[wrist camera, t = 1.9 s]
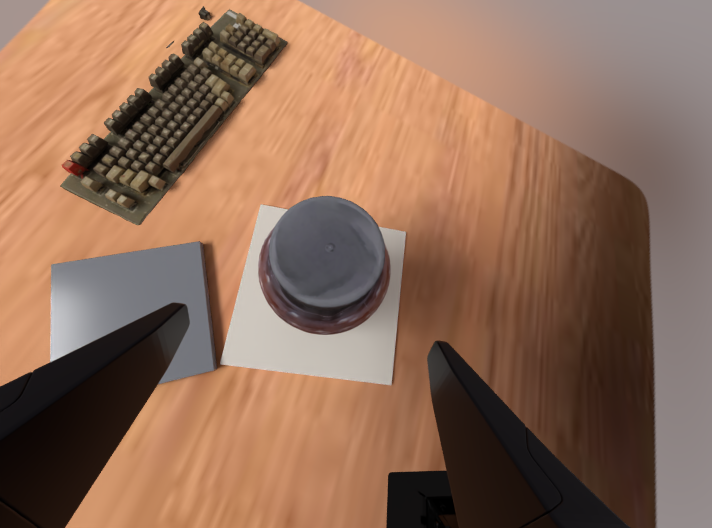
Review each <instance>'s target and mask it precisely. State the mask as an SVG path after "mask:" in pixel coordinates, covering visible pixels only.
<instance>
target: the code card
mask: <svg viewBox="0 0 712 528" xmlns="http://www.w3.org/2000/svg"><path fill="white" fill-rule="evenodd" d="M286 211H288V209H283V208H278V207H272V206H267V205H262V204H261V205H260V209H259V213H258V217H257V221H256V225H255V229H254V233H253V237H252V241H251V244H250V248H249V252H248V256H247V260H246V264H245V268H244V272H243V276H242V280H241V284H240V287H239V291H238V295H237V299H236V303H235V307H234V311H233V315H232V319H231V323H230V327H229V330H228V334H227V338H226V342H225V346H224V350H223V354H222V358H221V362H220V364H222V365H230V366H238V367H246V368H254V369H263V370H271V371H279V372H287V373H295V374H304V375H312V376H320V377H328V378H336V379H345V380H353V381H361V382H369V383H377V384H385V385H391V384H392V374H393V363H394V353H395V342H396V332H397V321H398V311H399V300H400V290H401V279H402V269H403V258H404V248H405V237H406V232H404V231H399V230H393V229H388V228H383V227H379V229H380V231H381V233H382V236H383V239H384V243H385V245H386V248H387V251H388V254H389V258H390V266H391V274H390V282H389V287H388V290H387V293H386V295H385V297H384V299H383V301H382V303H381V304H380V306H379V307H378V309H377V310H376V311H375V312H374V313H373V315H372V316H371V317H370V318H369V319H367V320H366V321H365V322H364V323H362V324H361V325H359V326H357V327H355V328H353V329H351V330H349V331H346V332H342V333H338V334H332V335H318V334H311V333H307V332H304V331H302V330H299V329H297V328H295V327H293V326H291V325H289V324H288V323H286V322H285V321H283V320H282V319H281V318H280V317H279V316H278V315H277V314H276V313H275V312H274V311H273V309H272V308H271V307H270V306H269V304H268V303H267V301H266V299H265V297H264V294H263V292H262V289H261V286H260V283H259V276H258V261H259V254H260V252H261V248H262V245H263V244H264V241H265V239H266V238H267V236H268V234H269V233H270V232H271V230H272V229H273V228H274V227H275V225H276V224H277V222H278V221H279V219H280V218H281V217H282V216H283V214H284V213H285V212H286Z"/></svg>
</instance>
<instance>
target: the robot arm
mask: <svg viewBox="0 0 712 528" xmlns="http://www.w3.org/2000/svg"><path fill="white" fill-rule="evenodd" d="M189 325H190V318H189V313H188V307H187V305H186V304H183V303H176V302H173V303H170V304H168V305H166V306H164V307H162V308H160V309H158V310H156V311H154V312H152V313H149V314H147V315H145V316H143V317H141V318H139V319H137V320H135V321H133V322H131V323H129V324H127V325H125V326H123V327H121V328H119V329H117V330H115V331H113V332H111V333H109V334H107V335H105V336H103V337H101V338H99V339H97V340H95V341H92V342H90V343H88V344H86V345H84V346H82V347H80V348H78V349H76V350H74V351H72V352H70V353H68V354H66V355H64V356H62V357H60V358H58V359H56V360H54V361H52V362H50V363H48V364H46V365H44V366H42V367H40V368H38V369H35V370H34V371H33V373H32V372H29V373H27V374H25V375H23V376H21V377H19V378H17V379H15V380H13V381H11V382H9V383H7V384H5V385H3V386H0V528H65V527H66V525H67V524H68V522H69V521H70V519H71V518H72V516H73V514H74V513H75V511H76V510H77V508H78V507H79V505H80V504H81V502H82V501H83V499H84V497H85V496H86V494H87V493H88V491H89V490H90V488H91V487H92V485H93V484H94V482H95V481H96V479H97V477H98V476H99V474H100V473H101V471H102V470H103V468H104V467H105V465H106V464H107V462H108V460H109V459H110V457H111V456H112V454H113V453H114V451H115V450H116V448H117V447H118V445H119V443H120V442H121V440H122V439H123V437H124V436H125V434H126V433H127V431H128V430H129V428H130V426H131V425H132V423H133V422H134V420H135V419H136V417H137V416H138V414H139V413H140V411H141V409H142V408H143V406H144V405H145V403H146V402H147V400H148V399H149V397H150V396H151V394H152V392H153V391H154V389H155V388H156V386H157V385H158V383H159V382H160V380H161V379H162V377H163V375H164V374H165V372H166V371H167V369H168V367H169V365H170V363H171V362H172V360H173V358H174V356H175V354H176V352H177V350H178V348H179V346H180V344H181V342H182V340H183V338H184V336H185V334H186V332H187V330H188V328H189ZM427 361H428V370H429V380H430V389H431V397H432V403H433V409H434V413H435V418H436V423H437V427H438V432H439V437H440V441H441V446H442V451H443V455H444V460H445V465H446V469H447V474H448V479H449V483H450V488H451V493H452V497H453V502H454V507H455V511H456V516H457V521H458V525H459V528H630V527H629V526H628V525H626V524H625V523H624V522H623V521H622V520H621V519H620V518H619V517H618V516H617V515H616V514H615V513H613V512H612V511H611V510H610V509H609V508H608V507H607V506H606V505H605V504H604V503H603V502H602V501H601V500H600V499H599V498H598V497H597V496H596V495H595V494H594V493H593V492H591V491H590V490H589V489H588V488H587V487H586V486H585V485H584V484H583V483H582V482H581V481H580V480H579V479H578V478H577V477H576V476H575V475H574V474H573V473H572V472H571V471H570V470H569V469H567V468H566V467H565V466H564V465H563V464H562V463H561V462H560V461H559V460H558V459H557V458H556V457H555V456H554V455H553V454H552V453H551V452H550V451H549V450H548V449H547V448H546V447H545V445H544V444H543V443H542V442H541V441H540V440H539V439H538V438H537V437H536V436H535V435H534V434H533V433H532V432H531V431H530V430H529V429H528V428H527V427H525V425H524V423H523V422H522V421H521V420H520V419H519V418H518V417H517V416H516V415H515V414H514V413H513V412H512V411H511V410H510V409H509V407H508V406H507V405H506V404H505V403H504V402H503V401H502V400H501V399H500V398H499V397H498V396H497V395H496V394H495V393H494V391H493V390H492V389H491V388H490V387H489V386H488V385H487V384H486V383H485V382H484V381H483V380H482V379H481V378H480V377H479V375H478V374H477V373H476V372H475V371H474V370H473V369H472V368H471V367H470V366H469V365H468V364H467V363H466V362H465V361H464V359H463V358H462V357H461V356H460V355H459V354H458V353H457V352H456V351H455V350H454V349H453V348H452V347H451V346H450V345H449V344H448V343H447V342H444V341H435V343H434V344H433V346H432V348H431V350H430V352H429V354H428V358H427Z"/></svg>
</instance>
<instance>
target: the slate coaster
mask: <svg viewBox="0 0 712 528" xmlns="http://www.w3.org/2000/svg"><path fill="white" fill-rule="evenodd" d="M173 302H176V303H183V304H186V305H187V307H188V313H189V318H190V325H189V328H188V330H187V332H186V334H185V336H184V338H183V340H182V342H181V344H180V346H179V348H178V350H177V352H176V354H175V356H174V358H173V360H172V362H171V363H170V365H169V367H168V369H167V371H166V372H165V374H164V375H163V377H162V379H161V380H160V382H159V383H158V384H161V383H165V382H169V381H173V380H177V379H181V378H185V377H189V376H193V375H197V374H201V373H205V372H209V371H213V370H216V369H217V363H216V354H215V345H214V337H213V328H212V319H211V310H210V301H209V292H208V284H207V275H206V266H205V257H204V248H203V244H202V243H201V242H200V241H199V242H192V243H186V244H180V245H173V246H167V247H160V248H154V249H148V250H141V251H135V252H129V253H122V254H116V255H109V256H103V257H97V258H90V259H84V260H77V261H71V262H65V263H58V264H52V265H51V354H50V362H52V361H54V360H56V359H58V358H60V357H62V356H64V355H66V354H68V353H70V352H72V351H74V350H76V349H78V348H80V347H82V346H84V345H86V344H88V343H90V342H92V341H95V340H97V339H99V338H101V337H103V336H105V335H107V334H109V333H111V332H113V331H115V330H117V329H119V328H121V327H123V326H125V325H127V324H129V323H131V322H133V321H135V320H137V319H139V318H141V317H143V316H145V315H147V314H149V313H152V312H154V311H156V310H158V309H160V308H162V307H164V306H166V305H168V304H170V303H173Z"/></svg>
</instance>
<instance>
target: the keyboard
mask: <svg viewBox="0 0 712 528" xmlns="http://www.w3.org/2000/svg"><path fill="white" fill-rule="evenodd" d="M199 15H200V18H201V19H205V20H207V21H208V20H209V19H210V18H211V16H210V13H209V12H208V11H206V10H205V8H204V7H203V8H202V9H201V10H200V11H199ZM173 42H174V41H173ZM173 42H172V43H173ZM172 43H171V44H172ZM171 44H169V45H168V46H167V47H166V48H168V47H169V46H170V45H171ZM181 45H182V51H183V54H185V55H184V56H183V57H182V58H181V59H180V58H179V57H178V56H177V55H175V54H171V55H170V56H169V61H168V60H165V61H164V62H163V63H162V68H161V67H158V68H157V69H156V70H155V73H156V75H155V74H151V75H150V76H149V80H150V84H151V86H152V87H154V88H153V89H152V90H151V91H150V92H149V93H148V92H146V91H145V90H144V89H139V88H137V89H136V91H135V96H134V95H130V96H129V97H128V98H127V101H128V104H127V103H125V102H124V103H123V104H122V105H120V106H119V107H120V111H118V110H115V112H114V113H113V114H112V117H113V119H111V118H108V119H107V120H106V121H105V122H104V124H105V126H106V127H107V128H108V130H109V131H111V132H110V133H109V134H108V135H107V136H106V137H105V138H104V140H103V139H102V138H100V137H98V136H96V135H94V134H92V135H91V136H90V137H89V138H88V139H87V140H88V142H89V144H87V143H83V144H82V145H81V146H80V147H79V148H80V151H81V152H77V151H76V152H74V153H73V154H72V155H71V156H70V157H71V159H72V161H70V160H67V161H66V162H65V163H64V164H63V165H62V167H63V168H64V169H65V170H66V171H68V172H69V173H71V174H70V175H69V176H68V177H67V179H66V180H65V181H64V182H63V183H62V184H61V187H62V188H64V189H65V190H67V191H69V192H71V193H73V194H75V195H77V196H79V197H81V198H83V199H85V200H87V201H89V202H91V203H93V204H95V205H97V206H99V207H101V208H103V209H105V210H107V211H109V212H111V213H113V214H116V215H118V216H120V217H122V218H123V219H125V220H127V221H130V222H132V223H134V224H136V225H141V223H142V222H143V221H144V219H145V218H146V216H147V215H148V214H149V213H150V212H151V211H152V210H153V208H154V207H155V206H156V205H157V204H158V202H159V201H160V200H161V199H162V198H163V196H164V195H165V194H166V192H167V191H168V190H169V189H170V187H171V186H172V185H173V184H174V183H175V181H176V180H177V179H178V178H179V177H180V176H181V175H182V174H183V172H184V171H185V170H186V168H187V167H188V166H189V165H190V163H191V162H192V161H193V160H194V158H195V156H196V155H197V154H198V153H199V152H200V150H201V149H202V148H203V147H204V145H205V144H206V143H207V141H208V140H209V139H210V138H211V137H212V136H213V134H214V133H215V132H216V131H217V130H218V128H219V127H220V126H221V125H222V124H223V122H224V121H225V120H226V118H227V117H228V116H229V115H230V114H231V112H232V111H233V110H234V109H235V108H236V106H237V105H238V104H239V103H240V101H241V100H242V99H243V98H244V97H245V95H246V94H247V93H248V92H249V91H250V89H251V88H252V87H253V85H254V84H255V83H256V82H257V81H258V80H259V79H260V77H261V76H262V75H263V73H264V72H265V71H266V70H267V69H268V67H269V66H270V65H271V63H272V62H273V61H274V60H275V58H276V57H277V56H278V54H279V53H280V52H281V51H282V49H283V48H284V47H285V46H286V45H287V41H285V40H283V39H281V38H279V37H278V35H277V34H275V33H273V32H271V31H269V30H268V29H266V28H265V29H263V28H262V27H261V26H260V25H258V24H254V22H253V21H251V20H249V19H248V20H247V19H246V17H245V16H244V15H242V14H241V13H239V14H237V13H235V12H233V11H232V10H230V9H229V10H228V11H227V12H226V13H225V14H224V15H223V16H222V17H221V18H220V19H219V20H218V21H217V22H216V23H215V24H214V25H213V26H212V27H211V28H210V27H209V25H208V24H206V23H204V22H203V23H201V24H200V25H199V29H198V28H197V29H196V30H194V31H193V35H192V34H191V35H190V36H189V37H187V41H184V42H183V43H182V44H181Z"/></svg>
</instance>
